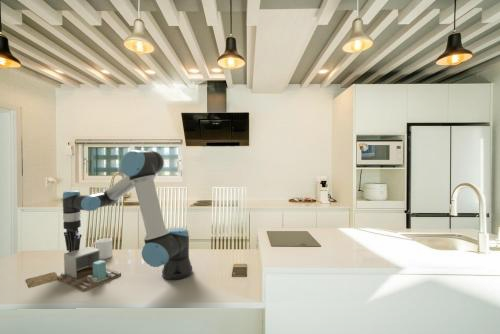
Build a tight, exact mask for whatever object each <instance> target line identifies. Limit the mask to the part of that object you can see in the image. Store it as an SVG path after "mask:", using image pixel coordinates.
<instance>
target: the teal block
mask: <svg viewBox="0 0 500 334" xmlns="http://www.w3.org/2000/svg"><path fill="white" fill-rule="evenodd" d="M106 268H107V262H106V261H105V260H104V259H100V260H99V261H96V262H94V263H93V277H96V278H97V281H99V280H102V279H104V278H106Z"/></svg>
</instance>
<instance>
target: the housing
mask: <svg viewBox="0 0 500 334" xmlns="http://www.w3.org/2000/svg"><path fill="white" fill-rule="evenodd" d="M99 260H101V259H100V250H99V249H97V247H94V248H92V246H85V247H82V248H79V249H78V250H75V251H71V252H69V251H67V252H65V253H63V261H64V263H63V266H64V267H63V268H64V273H63V274H66V275H68V276H71V277H73V278H77V270H78V269H81V268H84V267H87V266H91V267H93V263H94V262H96V261H99Z"/></svg>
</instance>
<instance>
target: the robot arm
mask: <svg viewBox="0 0 500 334" xmlns="http://www.w3.org/2000/svg"><path fill="white" fill-rule="evenodd" d="M164 164H165V163H164V158H163V156H162V155H161V154H160V153H159V152H157V151H155V150H140V149H135V150H129V151H127V152H125V154H124V155H123V157H122V158H121V160H120V169H121V171H122V173H123V174H124V175H125V176H124V177H122V178H121V179H119V180H118V181H117V182H116V183H114V184H113V185H112V186H110V187H109V188H108V189H107V190H105V191H104V192H100V193H94V194H88V195H87V194H85V195H84V194H81V192H80V190H77V189H76V190H75V189H74V190H67V191H63V193H62V199H61V200H62V211H63V213H62V220H63V229H64V230H66V231H65V232H63V235H64V239H65V240H64V241H65V248H66V251H67V252H71V251H75V250H78V249H81V247H80V246H81V238H82V234H80V233H79V232H80V231H79V228H80V227H82V223H81V222H82V221H81V214H82V213H81V211H87V212H92V211H94V212H95V211H96V210H97V209H99V208H104V207H108V206H109V207H110V206H112V205H116V204H117V203H118V201H119V199H120V198H121V197H123V196H124V195H126V194H127V193H129V192H130V191H131V190H133V189H135V193H136V196H137V201H138V206H139V209H140V214H141V216H142V221H143V225H144V231H145V234H146V235H145V236H144V238H143V241H144V246H142V248H141V257H142V260H143V261H144V262H145V263H146V264H147V265H149V266H150V267H153V268H159V267H162V266H163V267H162V270H161V277H163V278H164V279H166V280H170V281H172V280H173V281H174V280H183V279H186V278H188V277H190V276H191V275H192V274H193V266H192V262H191V260H190V248H189V247H190V235H189V230H188V229H187V228H179V227H177V228H172V227H171V228H167V229H166V226H165V221H164V217H163V213H162V210H161V205H160V201H159V197H158V193H157V188H156V184H155V178H156V176H157V174H159V172H161V171H162V169H163V167H164Z"/></svg>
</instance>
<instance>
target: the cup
mask: <svg viewBox="0 0 500 334" xmlns="http://www.w3.org/2000/svg"><path fill="white" fill-rule="evenodd" d="M95 245H96V249H99V250H100V260H108V259H110V258H111V257H112V256H113V238H110V237H104V238H100V239H97V240H96V241H94V242H93V243H92V245H91V247H92V248H95Z"/></svg>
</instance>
